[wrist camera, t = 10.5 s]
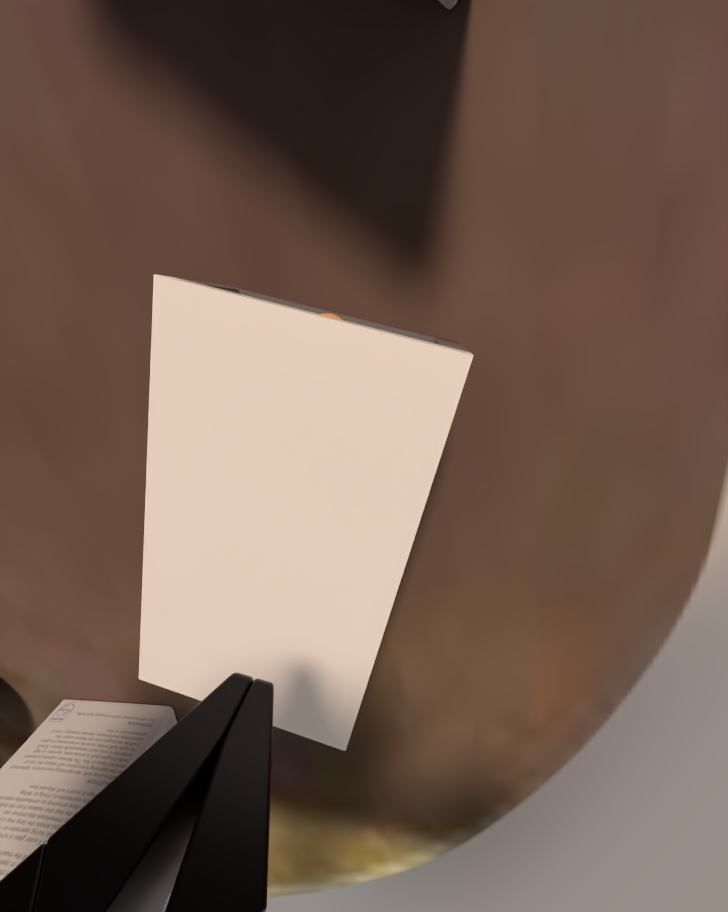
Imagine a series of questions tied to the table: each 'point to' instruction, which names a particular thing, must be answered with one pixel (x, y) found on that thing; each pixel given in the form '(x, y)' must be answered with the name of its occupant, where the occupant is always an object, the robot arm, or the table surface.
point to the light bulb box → (70, 768)
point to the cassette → (448, 3)
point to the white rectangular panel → (282, 496)
